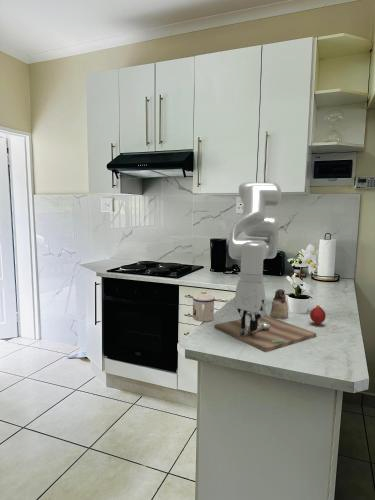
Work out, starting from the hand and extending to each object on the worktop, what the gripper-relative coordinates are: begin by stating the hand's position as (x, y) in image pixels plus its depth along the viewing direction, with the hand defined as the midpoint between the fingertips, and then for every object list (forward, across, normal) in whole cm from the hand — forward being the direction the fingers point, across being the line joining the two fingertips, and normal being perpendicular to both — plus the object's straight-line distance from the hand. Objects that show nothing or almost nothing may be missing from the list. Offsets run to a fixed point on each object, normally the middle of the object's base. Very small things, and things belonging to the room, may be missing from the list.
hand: (249, 328), depth 119 cm
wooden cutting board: (+3, +1, +9) cm, 9 cm away
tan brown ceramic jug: (+4, -6, +30) cm, 31 cm away
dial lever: (+1, 0, +3) cm, 4 cm away
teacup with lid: (+4, -24, +2) cm, 24 cm away
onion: (+4, +10, +33) cm, 34 cm away
